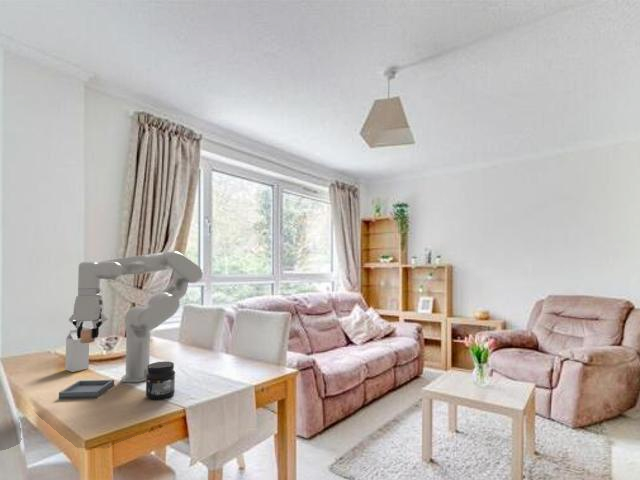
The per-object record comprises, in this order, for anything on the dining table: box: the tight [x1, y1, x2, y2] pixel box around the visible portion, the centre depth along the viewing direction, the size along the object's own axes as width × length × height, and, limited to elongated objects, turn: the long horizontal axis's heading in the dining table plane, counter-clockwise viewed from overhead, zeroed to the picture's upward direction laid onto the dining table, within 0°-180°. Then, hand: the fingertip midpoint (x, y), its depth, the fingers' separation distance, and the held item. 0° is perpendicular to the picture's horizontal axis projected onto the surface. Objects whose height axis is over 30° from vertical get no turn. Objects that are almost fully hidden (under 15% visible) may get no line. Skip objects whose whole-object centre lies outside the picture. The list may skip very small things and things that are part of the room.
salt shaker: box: [80, 326, 96, 344], centre depth 154 cm, size 5×5×6 cm
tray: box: [58, 379, 115, 400], centre depth 152 cm, size 14×14×2 cm
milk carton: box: [64, 329, 90, 373], centre depth 183 cm, size 7×7×19 cm
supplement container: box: [145, 360, 176, 401], centre depth 149 cm, size 10×10×12 cm
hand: (87, 337), depth 154 cm, fingers closed on salt shaker, 5 cm apart
